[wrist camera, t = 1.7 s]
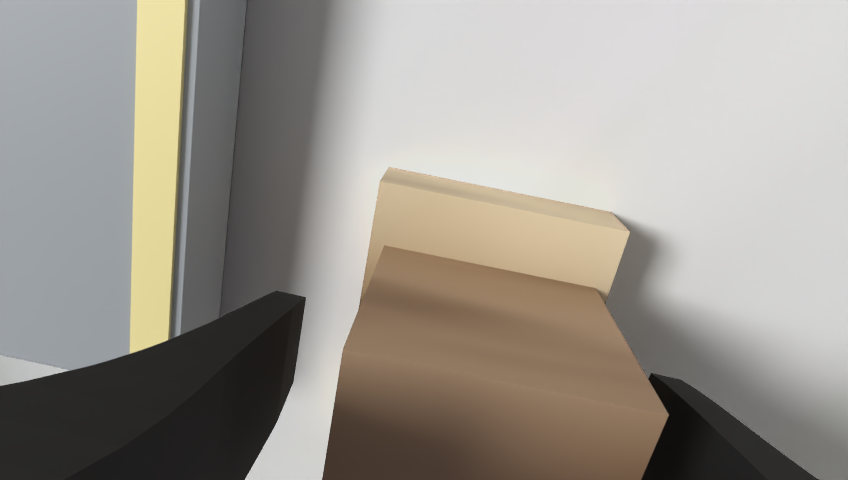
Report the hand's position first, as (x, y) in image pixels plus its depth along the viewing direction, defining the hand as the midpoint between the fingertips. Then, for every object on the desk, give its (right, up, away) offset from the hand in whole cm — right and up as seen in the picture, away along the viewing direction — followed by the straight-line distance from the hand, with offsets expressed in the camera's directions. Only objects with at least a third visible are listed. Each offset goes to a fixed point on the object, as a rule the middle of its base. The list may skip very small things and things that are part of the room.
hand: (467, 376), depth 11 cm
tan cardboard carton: (0, +1, +2) cm, 2 cm away
